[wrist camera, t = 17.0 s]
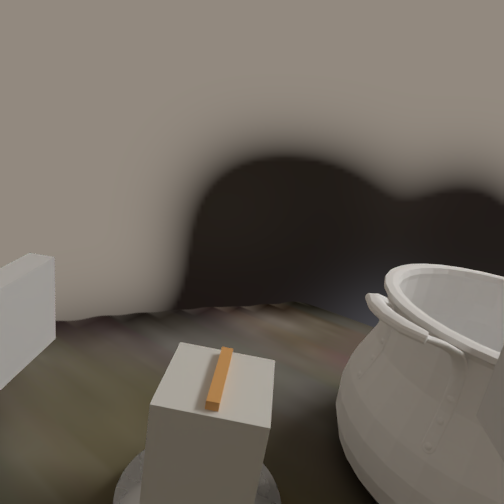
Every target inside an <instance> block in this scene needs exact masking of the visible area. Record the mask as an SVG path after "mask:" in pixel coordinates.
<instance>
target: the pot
mask: <svg viewBox="0 0 504 504" xmlns="http://www.w3.org/2000/svg"><path fill="white" fill-rule="evenodd" d="M384 288H385V290H386V292H387V294H388V298H386V297H384V296H382V295H380V294H373V293H368V294H367V295H366V296H365V299H366V302H367V304H368V307H369V309H370V310H371V311H372V312H373V313H374V314H375V315H376V316H377V317H378V318H379V319H380V320H379V323H378V324H377V325H376V326H375V328H374V329H373V330H372V331H371V332H370V333H369V334H368V335H367V337H366V338H365V339H364V340H363V341H362V342H361V343H360V344H359V345H358V347H357V348H356V349H355V351H354V352H353V354H352V355H351V357H350V359H349V361H348V363H347V365H346V367H345V368H344V370H343V373H342V378H341V382H340V386H339V391H338V395H337V400H336V412H337V422H338V432H339V439H340V442H341V445H342V447H343V450H344V453H345V456H346V458H347V460H348V462H349V463H350V465H351V467H352V468H353V470H354V472H355V474H356V475H357V477H358V479H359V480H360V481H361V482H362V484H363V486H364V487H365V489H366V490H367V491H368V493H369V494H370V495H371V496H372V498H373V499H374V500H375V501H376V503H377V504H504V462H503V460H502V458H501V457H500V455H499V453H498V452H497V450H496V448H495V447H494V445H493V443H492V442H491V440H490V438H489V437H488V435H487V433H486V432H485V430H484V428H483V427H482V425H481V423H480V422H479V420H478V418H477V417H476V414H477V412H478V409H479V406H480V404H481V401H482V399H483V396H484V394H485V391H486V388H487V386H488V383H489V381H490V378H491V376H492V373H493V371H494V368H495V365H496V363H497V360H498V358H499V355H500V353H501V350H502V348H503V345H504V277H501V276H496V275H493V274H489V273H485V272H481V271H476V270H471V269H465V268H460V267H453V266H446V265H436V264H409V265H403V266H399V267H396V268H394V269H391V270H390V271H389V273H387V274H386V277H385V282H384Z"/></svg>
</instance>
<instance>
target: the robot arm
mask: <svg viewBox="0 0 504 504" xmlns="http://www.w3.org/2000/svg"><path fill="white" fill-rule="evenodd" d="M54 339H55V257H51V256H46V255H39V254H33V253H28V254H26V255H24V256H23V257H21V258H19V259H17V260H15V261H13V262H11V263H9V264H7V265H5V266H3V267H1V268H0V390H1V389H2V388H3V387H4V386H5V385H6V384H7V383H8V382H10V381H11V380H12V379H13V378H14V377H15V376H16V375H17V374H18V373H19V372H20V371H21V370H22V369H23V368H24V367H26V366H27V365H28V364H29V363H30V362H31V361H32V360H33V359H34V358H35V357H36V356H37V355H38V354H39V353H41V352H42V351H43V350H44V349H45V348H46V347H47V346H48V345H49V344H50V343H51V342H52V341H53V340H54ZM476 417H477V418H478V420H479V422H480V423H481V425H482V427H483V428H484V430H485V432H486V433H487V435H488V437H489V438H490V440H491V442H492V443H493V445H494V447H495V448H496V450H497V452H498V453H499V455H500V457H501V458H502V460H503V462H504V345H503V348H502V350H501V353H500V355H499V358H498V360H497V363H496V365H495V368H494V371H493V373H492V376H491V378H490V381H489V383H488V386H487V388H486V391H485V394H484V396H483V399H482V401H481V404H480V406H479V409H478V412H477V414H476Z"/></svg>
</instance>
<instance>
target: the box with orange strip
mask: <svg viewBox="0 0 504 504" xmlns="http://www.w3.org/2000/svg"><path fill="white" fill-rule="evenodd" d="M274 366H275V360H270V359H265V358H260V357H254V356H249V355H244V354H239V353H234V352H233V349H232V348H227V347H222V349H221V350H218V349H213V348H208V347H203V346H198V345H193V344H187V343H182V342H180V344H179V346H178V348H177V350H176V352H175V354H174V356H173V358H172V360H171V362H170V364H169V366H168V368H167V370H166V372H165V375H164V377H163V379H162V381H161V383H160V385H159V387H158V389H157V391H156V393H155V395H154V397H153V399H152V401H151V403H150V407H149V417H148V426H147V435H146V445H145V454H144V464H143V473H142V482H141V492H140V501H139V504H254V501H255V496H256V492H257V487H258V483H259V478H260V474H261V469H262V465H263V460H264V456H265V451H266V447H267V442H268V438H269V433H270V428H271V413H272V398H273V382H274Z"/></svg>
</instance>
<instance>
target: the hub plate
mask: <svg viewBox="0 0 504 504" xmlns="http://www.w3.org/2000/svg"><path fill="white" fill-rule="evenodd" d="M144 454H145V450H143V451H142V452H141V453H139V454H138V455H137V456H136V457H135V458H134V459H133V460H132V461H131V462H130V463H129V464H128V466H127V467H126V468H125V470H124V471H123V473H122V475H121V477H120V478H119V481H118V483H117V486H116V489H115V493H114V498H113V504H139V501H140V492H141V482H142V473H143V464H144ZM254 504H281V499H280V494H279V491H278V488H277V485H276V483H275V481H274V478H273V476H272V475H271V473H270V472H269V470H268V469H267V467H266V466H265V465H264V464H263V465H262V469H261V474H260V478H259V483H258V487H257V492H256V496H255V501H254Z"/></svg>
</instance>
